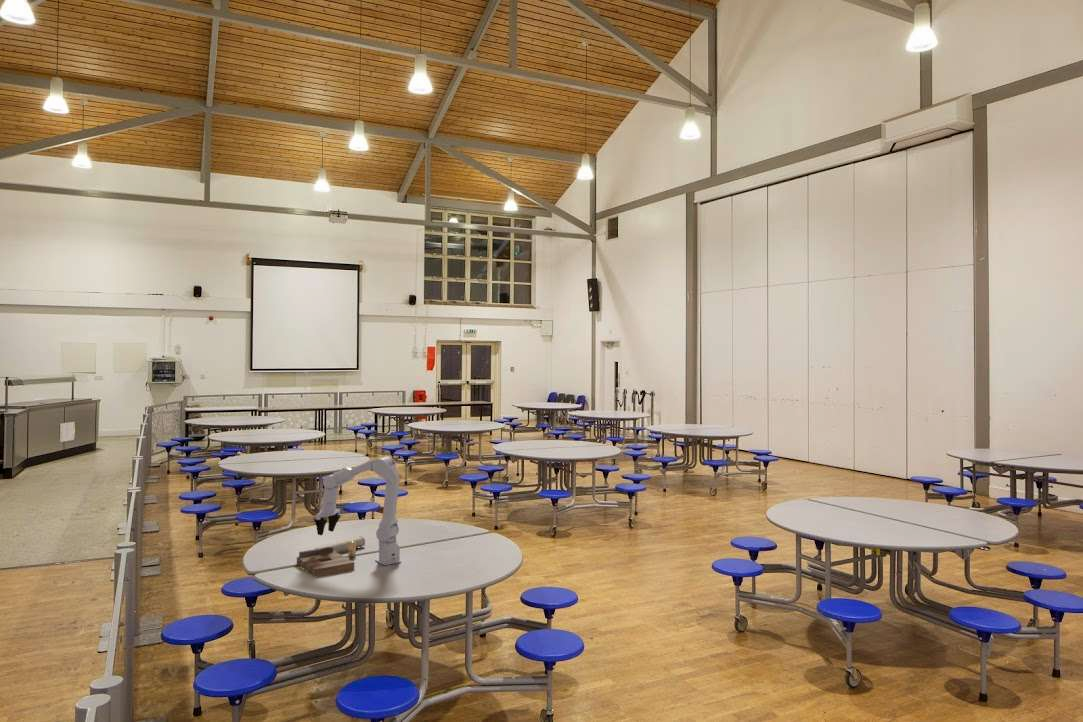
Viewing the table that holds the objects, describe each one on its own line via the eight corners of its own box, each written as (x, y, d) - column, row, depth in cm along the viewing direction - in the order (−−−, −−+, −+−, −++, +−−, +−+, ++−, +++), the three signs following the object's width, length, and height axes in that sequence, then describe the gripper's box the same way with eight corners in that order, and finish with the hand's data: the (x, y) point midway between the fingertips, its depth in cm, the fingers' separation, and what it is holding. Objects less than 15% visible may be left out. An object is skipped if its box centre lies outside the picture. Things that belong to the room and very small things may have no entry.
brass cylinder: (356, 558, 289) (357, 542, 289) (349, 559, 287) (349, 543, 287) (353, 556, 291) (354, 540, 291) (346, 557, 289) (347, 541, 289)
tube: (319, 551, 286) (366, 539, 306) (312, 545, 289) (359, 533, 309) (316, 562, 287) (364, 549, 307) (309, 556, 290) (357, 544, 310)
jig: (354, 569, 272) (354, 557, 272) (315, 577, 262) (315, 564, 262) (334, 557, 289) (334, 546, 289) (296, 564, 279) (296, 552, 279)
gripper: (332, 497, 299) (328, 527, 299) (311, 503, 285) (307, 534, 285) (345, 500, 296) (341, 530, 297) (325, 506, 283) (320, 538, 283)
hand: (325, 532), depth 291 cm, fingers open, 7 cm apart
